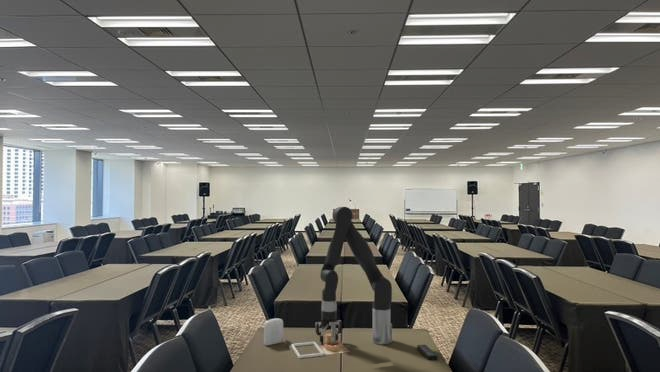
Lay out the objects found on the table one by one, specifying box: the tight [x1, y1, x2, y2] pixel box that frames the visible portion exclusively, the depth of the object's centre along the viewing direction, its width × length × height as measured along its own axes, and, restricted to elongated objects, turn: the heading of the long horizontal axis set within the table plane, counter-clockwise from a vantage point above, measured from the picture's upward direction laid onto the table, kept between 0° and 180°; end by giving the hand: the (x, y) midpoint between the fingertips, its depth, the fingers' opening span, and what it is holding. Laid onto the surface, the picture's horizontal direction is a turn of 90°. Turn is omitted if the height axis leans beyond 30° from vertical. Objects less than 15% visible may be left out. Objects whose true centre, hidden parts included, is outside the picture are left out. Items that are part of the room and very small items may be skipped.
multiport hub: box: [416, 344, 438, 361], centre depth 196 cm, size 4×14×2 cm, turn 9°
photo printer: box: [263, 317, 284, 346], centre depth 211 cm, size 10×4×12 cm, turn 123°
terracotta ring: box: [323, 333, 344, 351], centre depth 202 cm, size 8×13×4 cm
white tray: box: [291, 341, 325, 359], centre depth 196 cm, size 12×16×2 cm
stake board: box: [318, 322, 351, 356], centre depth 199 cm, size 12×12×14 cm
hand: (328, 342), depth 207 cm, fingers open, 6 cm apart
